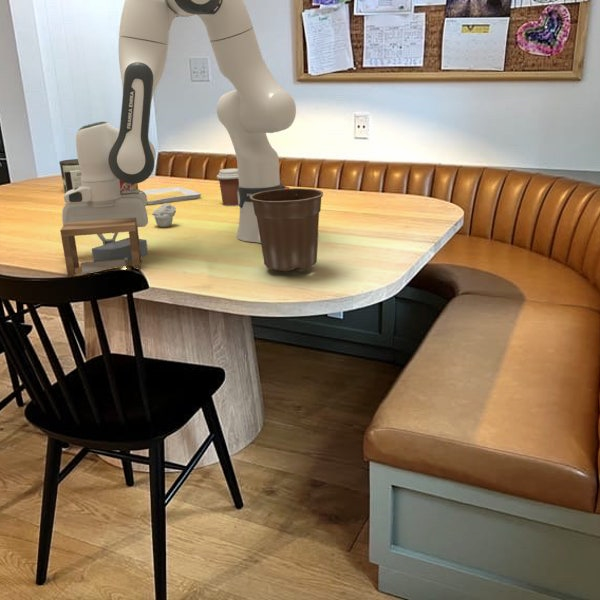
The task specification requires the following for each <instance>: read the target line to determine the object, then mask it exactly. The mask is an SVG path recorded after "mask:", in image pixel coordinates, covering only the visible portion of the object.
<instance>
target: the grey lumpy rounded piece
mask: <svg viewBox="0 0 600 600" xmlns="http://www.w3.org/2000/svg"><path fill="white" fill-rule="evenodd" d="M176 209H177V207H175V206H174V205H171V204H170V203H169V202H168V203H161V205H160V206H159V207H158V208H156V209H155V210H154V211H152V213H151V215H152V216H153V217H154V220H155V223H156V224H157V226H158V227H160V228H168V227H170V226H171V225H172V223H173V219H174V218H173V217H175V215H176V211H177V210H176Z"/></svg>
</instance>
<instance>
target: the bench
mask: <svg viewBox="0 0 600 600" xmlns="http://www.w3.org/2000/svg"><path fill="white" fill-rule="evenodd" d="M138 228H139V227H137V219H136V218H124V219H111V220H97V221H84V222H70V223H65V224H64V226H63V225H62V227H61V229H60V230H59V231H60V237H61V243H62V248H63V255H64V261H65V267H66V273H67V276H68V277H69V276H75V275H76V269H77V268H79V267H80V268H81V272H82V273H81V274H82V275H88V274H87V273H91V272H97V271H101V270H105V269H110V268H115V267H123V266H127V267H128V264H129V261H128V258H124V259H120V260H108V261H96V262H93V261H90V260H85V262H81V263H80V261H79V256H78V250H77V243H76V238H75V237H78V236H89V235H91V236H92V235H97V234H102V235H104V234H115V233H118V234H119V233H128V236H129V237H128V238H130V245H131V253H132V260H131V262H132V268H133V267H135V268H138V269H139V270H141V263H142V261H143V260H142V256H141V251H140V243H139V239H140V234H139V229H138Z"/></svg>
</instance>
